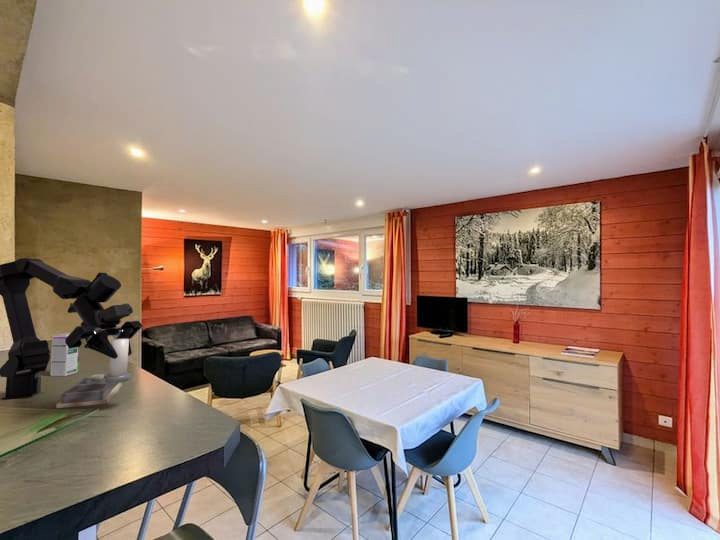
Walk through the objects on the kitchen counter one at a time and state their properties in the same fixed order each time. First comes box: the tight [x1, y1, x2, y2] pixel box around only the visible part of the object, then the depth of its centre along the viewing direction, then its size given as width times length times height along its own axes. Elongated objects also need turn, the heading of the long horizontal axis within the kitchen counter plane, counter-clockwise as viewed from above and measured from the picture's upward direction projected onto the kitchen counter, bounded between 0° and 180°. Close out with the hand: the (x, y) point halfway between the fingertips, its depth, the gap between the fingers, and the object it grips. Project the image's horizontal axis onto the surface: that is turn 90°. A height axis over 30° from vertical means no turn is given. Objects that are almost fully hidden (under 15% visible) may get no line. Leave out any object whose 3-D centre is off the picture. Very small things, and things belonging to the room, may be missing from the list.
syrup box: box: [50, 332, 81, 377], centre depth 125 cm, size 6×6×14 cm
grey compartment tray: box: [55, 373, 123, 409], centre depth 102 cm, size 11×18×5 cm, turn 24°
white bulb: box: [104, 338, 131, 383], centre depth 94 cm, size 6×6×11 cm
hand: (123, 356), depth 94 cm, fingers closed on white bulb, 4 cm apart
